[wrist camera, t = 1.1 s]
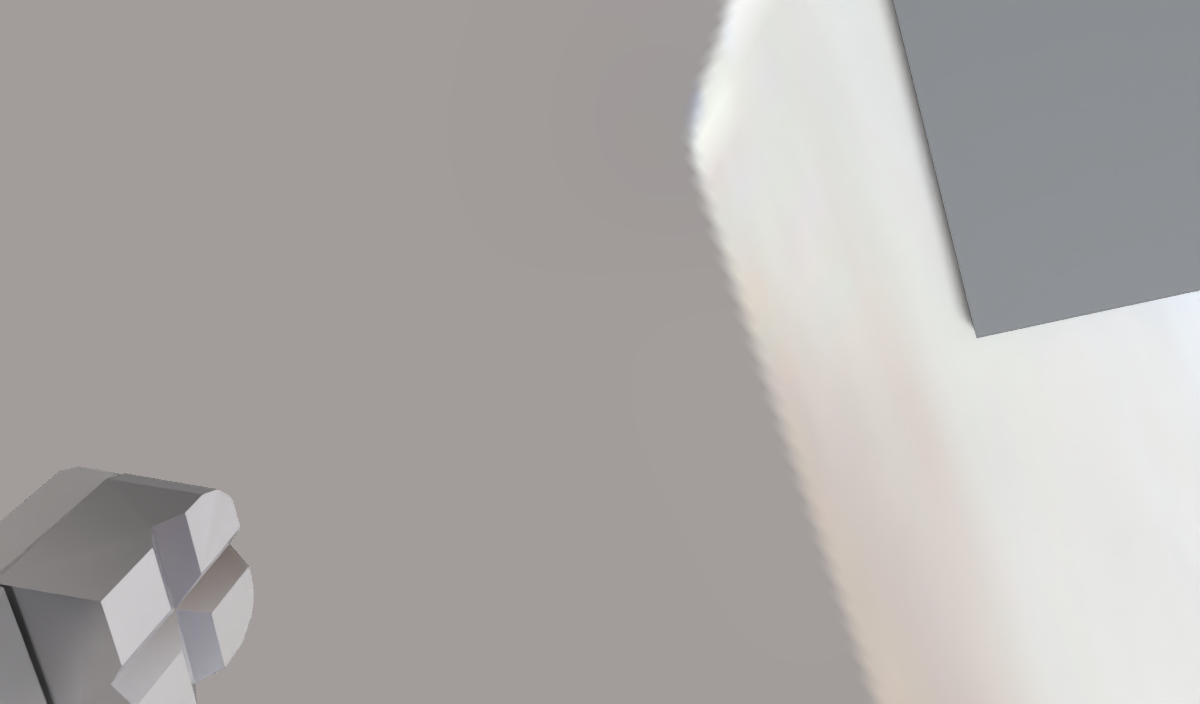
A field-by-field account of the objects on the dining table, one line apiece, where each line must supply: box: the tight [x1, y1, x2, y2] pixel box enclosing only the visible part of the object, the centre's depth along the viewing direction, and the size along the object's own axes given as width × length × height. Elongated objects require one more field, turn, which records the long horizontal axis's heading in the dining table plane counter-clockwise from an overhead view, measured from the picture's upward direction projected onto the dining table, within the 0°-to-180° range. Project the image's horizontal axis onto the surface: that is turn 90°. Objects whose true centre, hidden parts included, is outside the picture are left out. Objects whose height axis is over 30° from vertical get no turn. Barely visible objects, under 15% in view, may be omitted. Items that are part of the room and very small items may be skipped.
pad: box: [893, 0, 1200, 338], centre depth 35 cm, size 14×14×1 cm
